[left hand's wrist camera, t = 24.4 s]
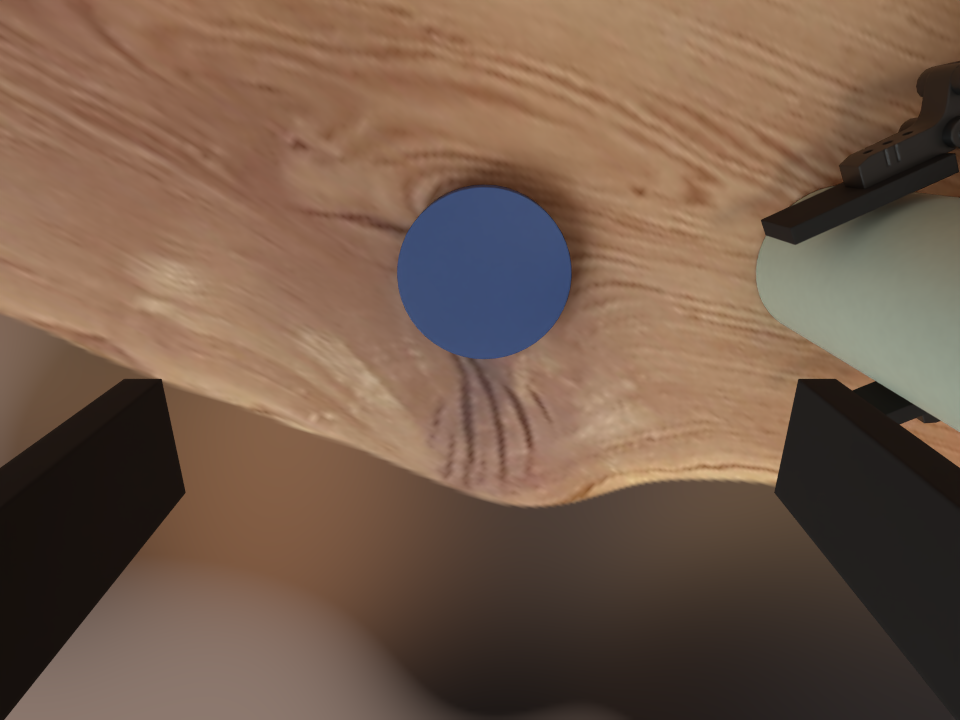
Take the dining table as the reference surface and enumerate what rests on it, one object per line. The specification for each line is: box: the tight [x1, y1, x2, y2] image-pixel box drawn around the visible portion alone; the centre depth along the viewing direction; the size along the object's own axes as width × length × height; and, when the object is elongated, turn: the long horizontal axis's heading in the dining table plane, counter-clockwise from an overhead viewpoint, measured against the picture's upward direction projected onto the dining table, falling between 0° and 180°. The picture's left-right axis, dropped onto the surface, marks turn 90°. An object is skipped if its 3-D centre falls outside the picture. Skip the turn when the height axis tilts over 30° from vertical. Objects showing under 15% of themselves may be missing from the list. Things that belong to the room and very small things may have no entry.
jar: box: [756, 186, 960, 432], centre depth 24 cm, size 8×8×18 cm
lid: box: [397, 185, 571, 359], centre depth 32 cm, size 9×9×2 cm
